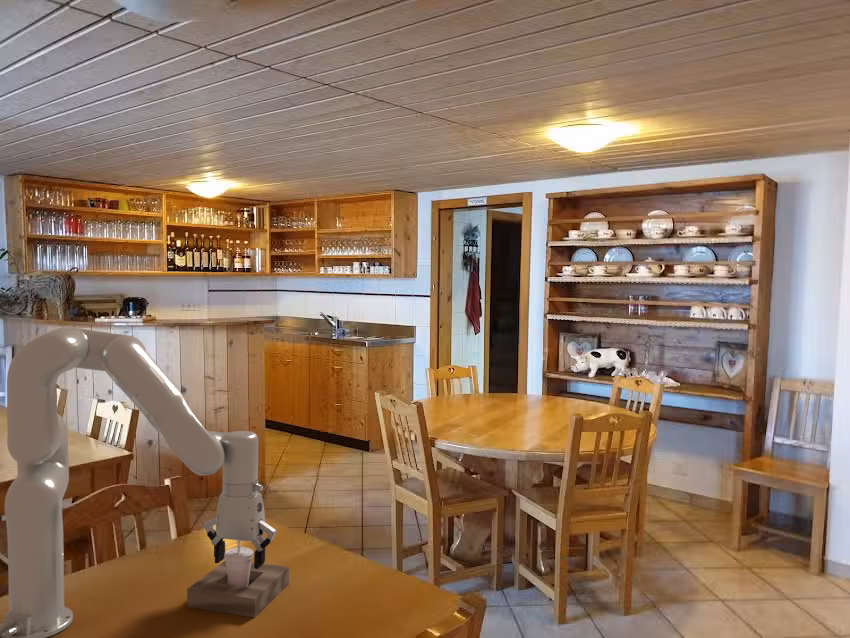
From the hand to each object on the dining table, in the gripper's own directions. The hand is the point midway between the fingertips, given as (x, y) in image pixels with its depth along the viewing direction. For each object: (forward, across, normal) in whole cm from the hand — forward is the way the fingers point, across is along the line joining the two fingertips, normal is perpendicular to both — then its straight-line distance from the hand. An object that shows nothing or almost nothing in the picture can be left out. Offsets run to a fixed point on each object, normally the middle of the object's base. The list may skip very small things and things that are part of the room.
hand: (239, 563), depth 145 cm
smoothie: (+7, 0, 0) cm, 7 cm away
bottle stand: (+7, 0, 0) cm, 7 cm away
